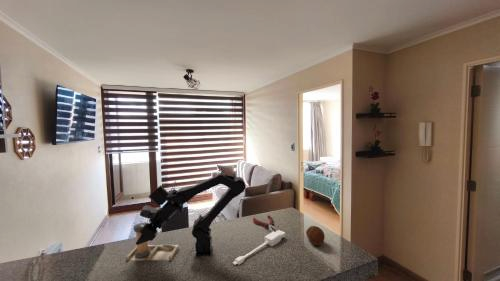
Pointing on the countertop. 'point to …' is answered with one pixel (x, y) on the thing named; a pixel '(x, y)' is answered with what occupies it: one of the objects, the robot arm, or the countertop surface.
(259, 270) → the countertop surface
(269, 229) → the pliers
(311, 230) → the potato
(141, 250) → the bobbin
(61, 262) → the countertop surface
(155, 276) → the countertop surface
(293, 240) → the countertop surface
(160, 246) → the divided tray
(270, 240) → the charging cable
